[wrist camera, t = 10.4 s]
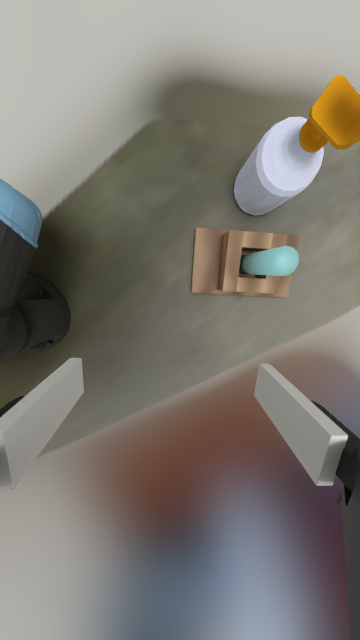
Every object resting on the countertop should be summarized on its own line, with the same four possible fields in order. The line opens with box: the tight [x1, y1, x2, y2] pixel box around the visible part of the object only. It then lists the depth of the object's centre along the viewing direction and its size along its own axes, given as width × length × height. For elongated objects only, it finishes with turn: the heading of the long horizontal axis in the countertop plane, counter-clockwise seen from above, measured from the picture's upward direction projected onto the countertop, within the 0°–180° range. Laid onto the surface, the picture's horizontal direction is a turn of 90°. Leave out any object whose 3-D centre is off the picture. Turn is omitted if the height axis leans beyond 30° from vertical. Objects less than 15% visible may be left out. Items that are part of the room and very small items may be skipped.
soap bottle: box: [234, 75, 360, 216], centre depth 24 cm, size 9×9×25 cm
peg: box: [239, 246, 299, 276], centre depth 31 cm, size 4×4×14 cm
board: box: [191, 228, 299, 298], centre depth 36 cm, size 20×12×6 cm, turn 87°
